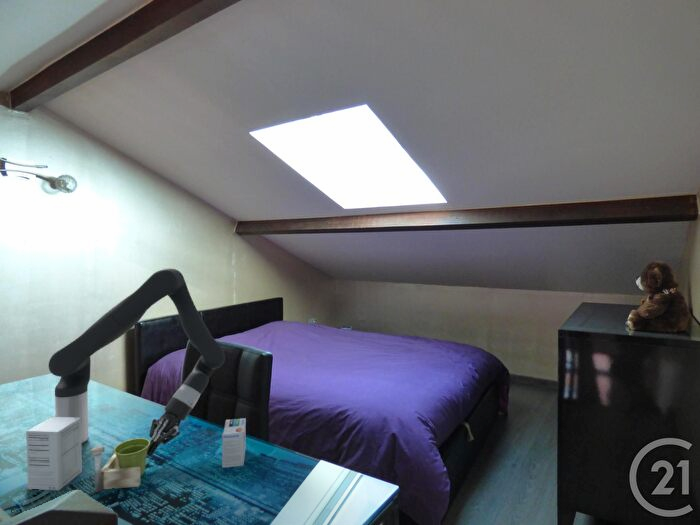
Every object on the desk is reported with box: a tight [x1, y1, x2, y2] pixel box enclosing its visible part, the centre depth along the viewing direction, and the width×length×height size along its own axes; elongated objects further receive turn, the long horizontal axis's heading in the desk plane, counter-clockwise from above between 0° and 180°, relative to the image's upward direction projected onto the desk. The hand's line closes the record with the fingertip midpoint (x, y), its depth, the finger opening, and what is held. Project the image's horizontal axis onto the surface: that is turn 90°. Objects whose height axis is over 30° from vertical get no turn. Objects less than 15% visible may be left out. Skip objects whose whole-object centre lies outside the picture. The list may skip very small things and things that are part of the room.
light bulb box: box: [221, 417, 247, 468], centre depth 126 cm, size 11×7×11 cm, turn 12°
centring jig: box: [90, 445, 141, 493], centre depth 111 cm, size 14×10×12 cm
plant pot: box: [113, 437, 151, 477], centre depth 116 cm, size 9×9×9 cm
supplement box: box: [26, 416, 83, 491], centre depth 113 cm, size 10×9×17 cm
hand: (147, 454), depth 119 cm, fingers closed
